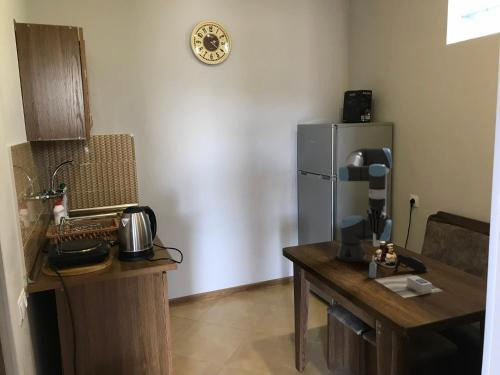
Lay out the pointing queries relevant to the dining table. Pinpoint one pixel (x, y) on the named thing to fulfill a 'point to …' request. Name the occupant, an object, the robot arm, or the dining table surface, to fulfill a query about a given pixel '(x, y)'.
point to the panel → (402, 285)
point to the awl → (372, 269)
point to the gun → (410, 263)
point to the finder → (419, 284)
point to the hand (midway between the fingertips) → (376, 246)
